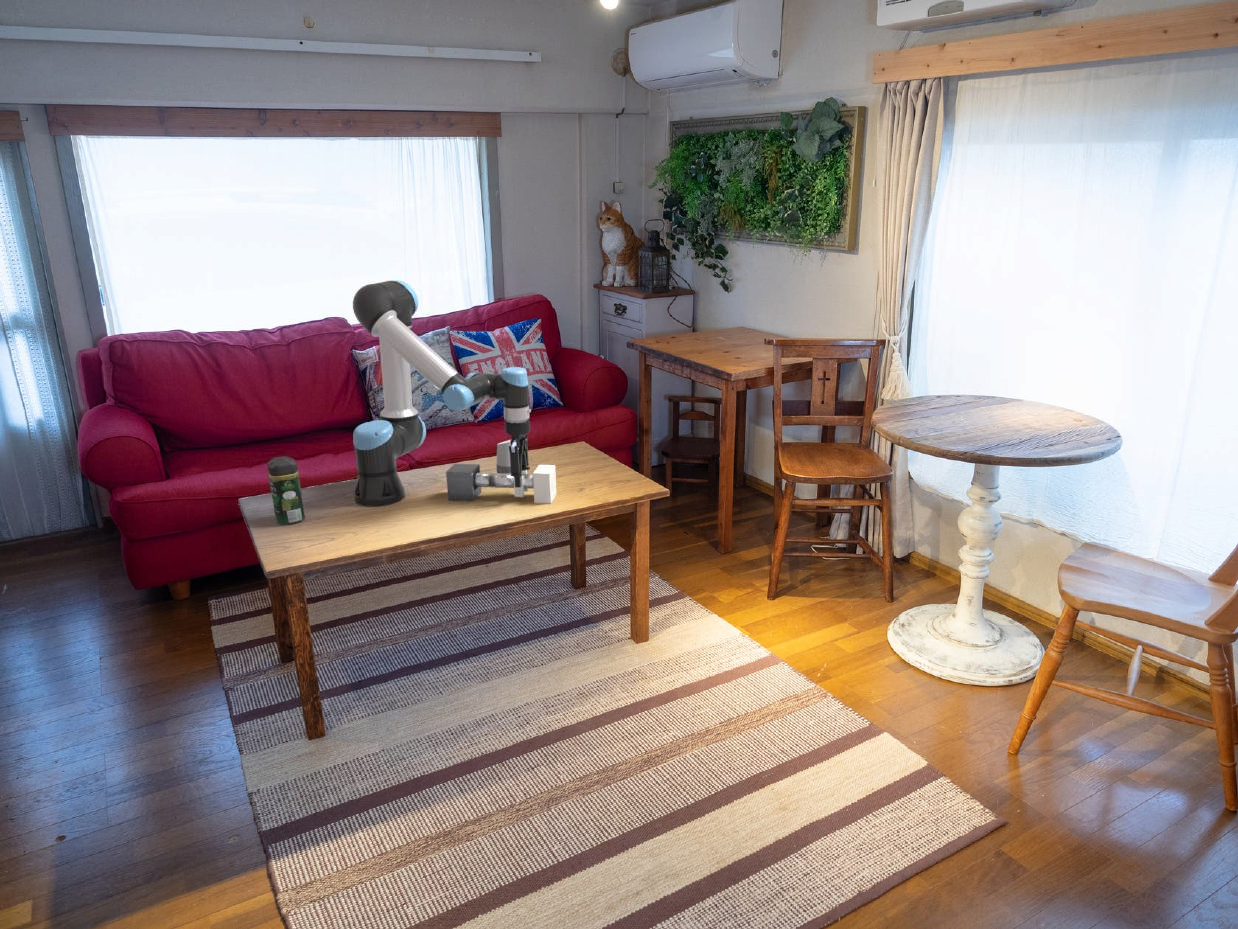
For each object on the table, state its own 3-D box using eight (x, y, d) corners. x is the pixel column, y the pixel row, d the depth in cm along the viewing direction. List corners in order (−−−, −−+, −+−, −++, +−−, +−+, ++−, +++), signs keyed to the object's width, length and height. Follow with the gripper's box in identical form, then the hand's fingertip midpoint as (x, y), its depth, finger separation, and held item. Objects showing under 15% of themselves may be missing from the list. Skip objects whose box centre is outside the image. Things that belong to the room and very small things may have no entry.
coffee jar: (273, 517, 252) (264, 456, 246) (301, 512, 255) (293, 452, 250) (278, 527, 243) (268, 465, 238) (307, 522, 247) (298, 460, 241)
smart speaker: (510, 472, 287) (508, 432, 283) (531, 477, 282) (529, 436, 278) (491, 480, 280) (488, 439, 276) (512, 485, 275) (509, 443, 271)
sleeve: (448, 500, 262) (445, 471, 259) (457, 491, 270) (454, 463, 267) (473, 501, 261) (471, 472, 258) (481, 492, 269) (479, 464, 266)
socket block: (534, 503, 258) (532, 473, 256) (540, 494, 266) (539, 464, 263) (550, 503, 258) (549, 473, 255) (556, 494, 265) (555, 465, 263)
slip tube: (463, 488, 262) (462, 474, 261) (468, 484, 267) (467, 470, 265) (546, 491, 259) (546, 477, 257) (549, 486, 263) (549, 472, 262)
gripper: (522, 427, 247) (526, 503, 254) (536, 412, 263) (539, 484, 270) (496, 427, 248) (501, 503, 255) (512, 412, 264) (516, 484, 271)
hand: (521, 493), depth 263 cm, fingers closed on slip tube, 4 cm apart
